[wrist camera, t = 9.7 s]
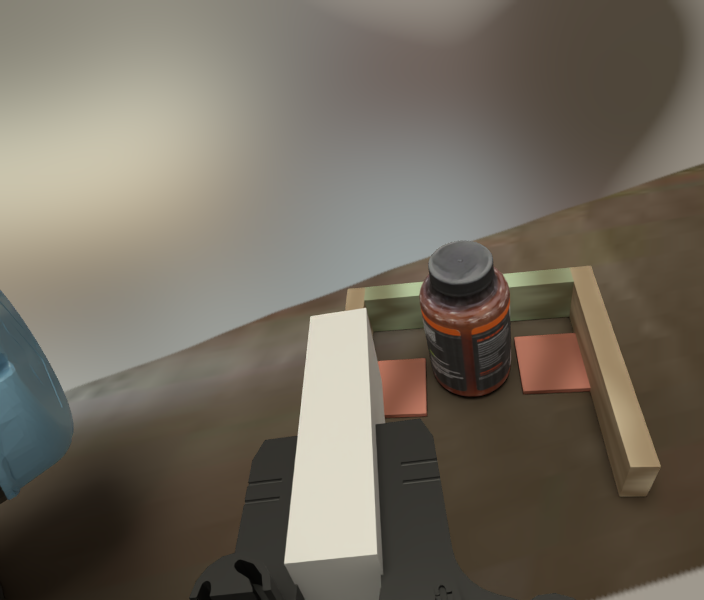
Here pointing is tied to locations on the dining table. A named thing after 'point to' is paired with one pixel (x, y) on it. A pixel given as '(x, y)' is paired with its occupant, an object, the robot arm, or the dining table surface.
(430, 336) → the supplement bottle
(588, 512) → the dining table surface
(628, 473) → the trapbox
